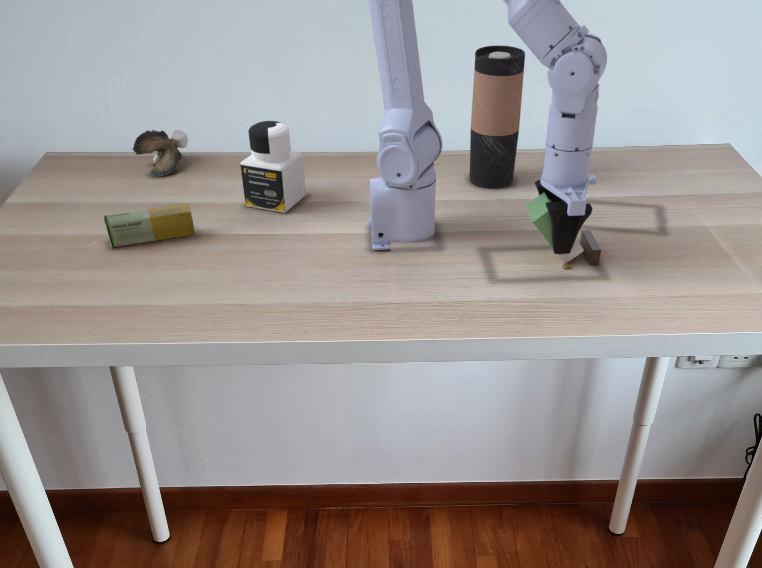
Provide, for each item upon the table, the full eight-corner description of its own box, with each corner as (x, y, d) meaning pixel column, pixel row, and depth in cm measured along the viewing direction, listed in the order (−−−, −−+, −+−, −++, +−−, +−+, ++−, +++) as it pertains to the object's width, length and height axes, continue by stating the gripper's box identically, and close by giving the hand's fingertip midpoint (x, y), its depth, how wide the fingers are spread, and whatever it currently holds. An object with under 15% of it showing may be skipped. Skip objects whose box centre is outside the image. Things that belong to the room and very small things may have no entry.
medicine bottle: (244, 206, 125) (234, 129, 118) (267, 189, 130) (259, 114, 123) (285, 213, 123) (277, 136, 115) (306, 196, 128) (300, 120, 121)
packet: (532, 222, 104) (552, 207, 102) (525, 205, 108) (544, 191, 106) (564, 264, 108) (584, 250, 107) (556, 246, 112) (575, 233, 111)
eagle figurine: (142, 149, 141) (123, 159, 133) (160, 114, 138) (141, 121, 130) (181, 174, 143) (164, 185, 135) (199, 140, 140) (183, 149, 132)
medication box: (110, 249, 114) (104, 224, 111) (109, 239, 116) (102, 214, 113) (196, 235, 117) (191, 210, 114) (193, 225, 119) (188, 201, 116)
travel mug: (522, 177, 134) (534, 49, 121) (501, 193, 129) (512, 61, 116) (481, 167, 137) (489, 42, 125) (459, 182, 132) (465, 54, 120)
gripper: (617, 164, 94) (600, 267, 103) (586, 122, 106) (573, 218, 114) (557, 166, 94) (545, 269, 103) (533, 124, 106) (524, 220, 114)
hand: (557, 243), depth 108 cm, fingers closed on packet, 5 cm apart
